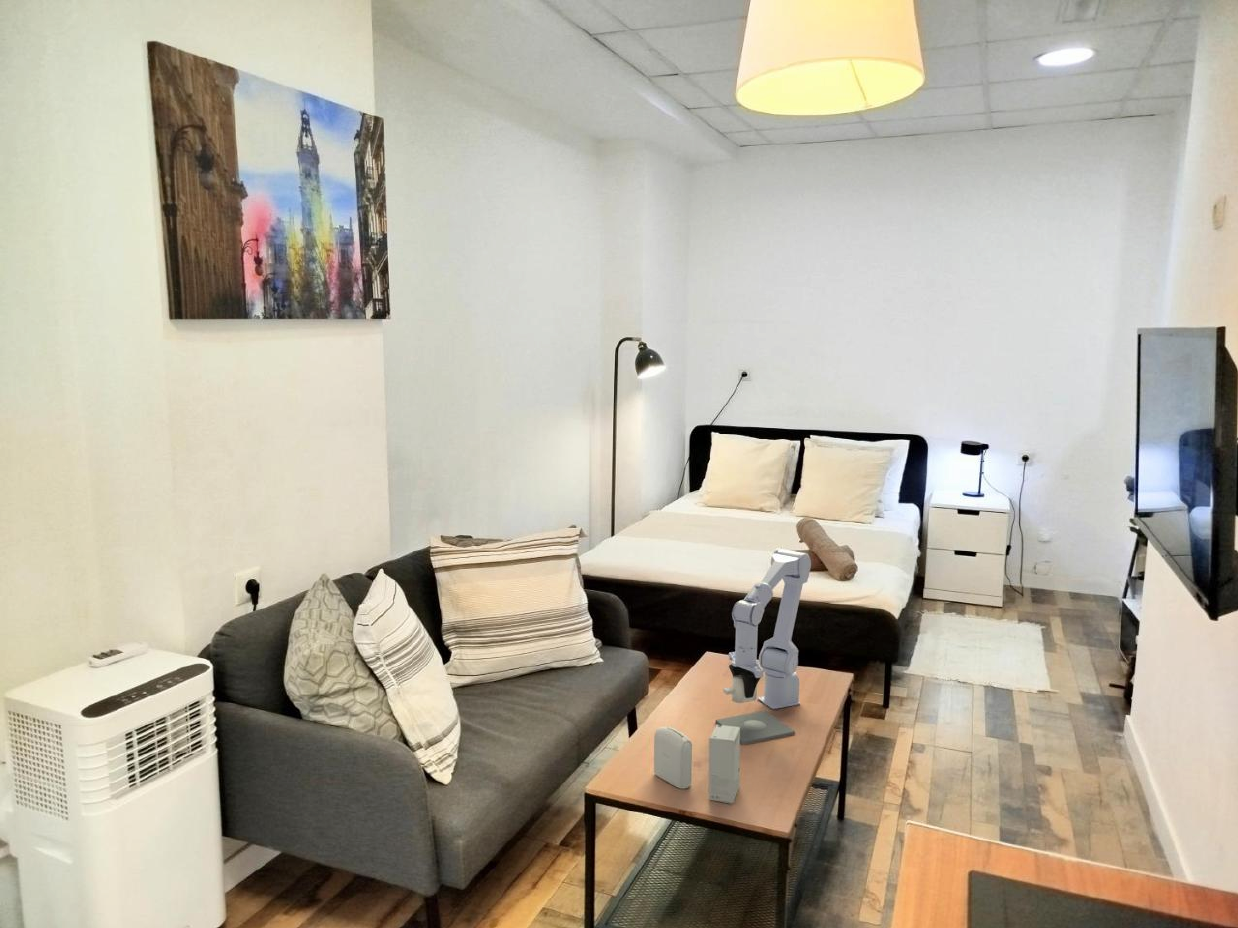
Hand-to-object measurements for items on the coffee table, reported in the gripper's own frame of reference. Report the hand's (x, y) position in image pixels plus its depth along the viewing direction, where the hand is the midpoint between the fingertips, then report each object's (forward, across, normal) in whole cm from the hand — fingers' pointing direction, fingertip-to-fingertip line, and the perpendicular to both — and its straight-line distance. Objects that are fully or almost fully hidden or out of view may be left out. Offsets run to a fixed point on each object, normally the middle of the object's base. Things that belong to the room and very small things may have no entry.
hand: (744, 693), depth 232 cm
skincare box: (+9, +30, -23) cm, 39 cm away
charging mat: (+8, +4, +1) cm, 9 cm away
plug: (+1, 0, -1) cm, 2 cm away
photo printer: (+9, +20, -32) cm, 38 cm away
